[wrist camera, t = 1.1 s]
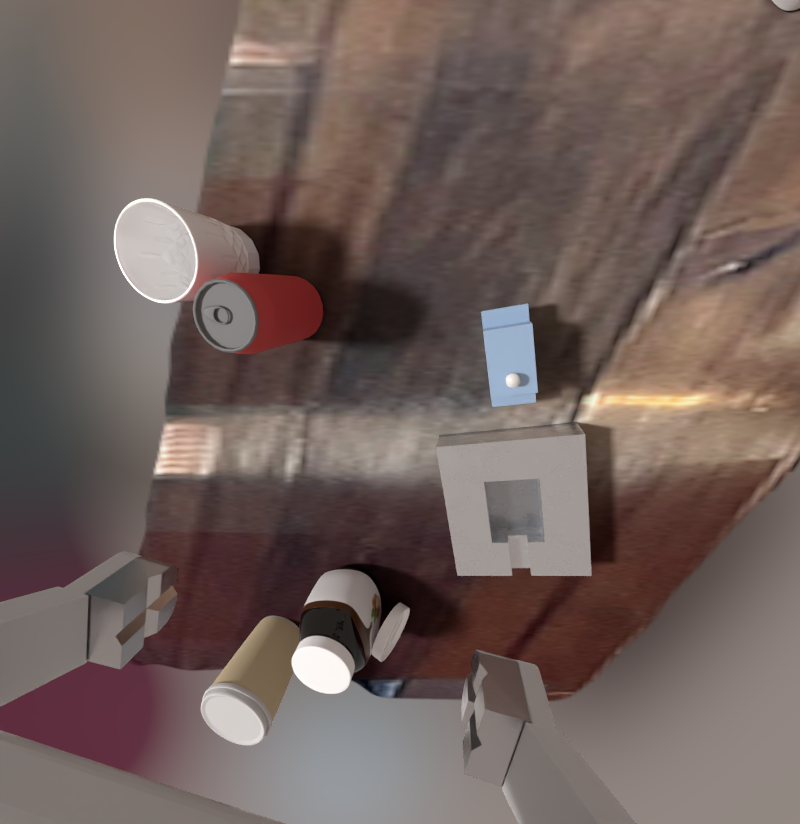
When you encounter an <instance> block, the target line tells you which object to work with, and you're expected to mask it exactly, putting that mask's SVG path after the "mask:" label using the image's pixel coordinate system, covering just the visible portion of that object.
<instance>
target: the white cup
mask: <svg viewBox="0 0 800 824" xmlns="http://www.w3.org/2000/svg"><path fill="white" fill-rule="evenodd" d="M114 248H115V253H116V257H117V261H118V263H119V266H120V268H121V270H122V272H123V274H124V276H125V277H126V279H127V280H128V282H129V283H130V284H131V285H132V286H133V288H134V289H135V290H136V291H138V292H139V293H140V294H141V295H143V296H144V297H146V298H148V299H150V300H152V301H155V302H159V303H175V302H184V301H194V298H195V296H196V294H197V292H198V289H199V288H200V287H201V286H202V285H203V284H204V283H205V282H207V281H210V280H213V279H216V278H218V277H220V276H223V275H225V274H228V273H231V272H233V273H256V274H259V271H260V263H259V253H258V251H257V249H256V247H255V245H254V243H253V241H252V239H251V238H250V237H248V236H247V235H246V234H245V233H244V232H243V231H242V230H241V229H238V228H235V227H232V226H229V225H226V224H223V223H222V222H220V221H218V220H215V219H213V218H210V217H207V216H204V215H201V214H199V213H196V212H193V211H190V210H186V209H183V208H180V207H177V206H174V205H171V204H168V203H165V202H162V201H159V200H156V199H150V198H143V199H138V200H136V201H133V202H131V203H130V204H128V205H127V206H126V207H125V208H124V209H123V211H122V212H121V213H120V215H119V217H118V220H117V222H116V226H115V231H114Z"/></svg>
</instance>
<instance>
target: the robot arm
mask: <svg viewBox="0 0 800 824" xmlns="http://www.w3.org/2000/svg"><path fill="white" fill-rule="evenodd" d="M772 1H773V2H774V3H775V4H776V5H777V6H778V7H779V8H781V9H783V10H786V11H792V10H796V9H799V8H800V0H772ZM178 571H179V569H178V568H177V567H176V566H173V565H170V564H167V563H164V562H160V561H157V560H154V559H151V558H147V557H144V556H139V555H136V554H133V553H130V552H120V553H118V554H116V555H115V556H113V557H111V558H110V559H108V560H107V561H105V562H104V563H102V564H100V565H99V566H97V567H96V568H94V569H93V570H91V571H90V572H88V573H86V574H85V575H83V576H82V577H80V578H79V579H77V580H76V581H74V582H72V583H71V584H69V585H68V586H66V587H65V588H61V587H55V588H51V589H48V590H44V591H40V592H36V593H33V594H29V595H26V596H22V597H18V598H15V599H11V600H7V601H4V602H0V706H2V705H4V704H6V703H8V702H10V701H12V700H14V699H16V698H18V697H20V696H22V695H24V694H26V693H28V692H30V691H32V690H34V689H36V688H38V687H39V686H41V685H44V684H45V683H47V682H49V681H51V680H53V679H55V678H57V677H59V676H61V675H63V674H65V673H67V672H69V671H71V670H73V669H75V668H77V667H79V666H81V665H83V664H85V663H86V661H90V662H94V663H98V664H102V665H106V666H109V667H113V668H117V669H121V668H122V667H123V666H124V665H125V664H126V663H127V662H128V661H129V660H130V659H131V658H132V657H133V656H134V655H135V654H136V653H137V652H138V651H139V650H140V649H141V648H142V647H143V643H144V638H145V637H148V636H150V635H152V634H155V633H157V632H158V631H159V630H160V629H161V628H162V627H163V626H164V625H165V624H166V622H167V620H168V619H169V617H170V615H171V614H172V612H173V610H174V607H175V604H176V597H177V594H176V592H175V590H174V588H173V586H172V585H173V584H174V583H175V582H176V581H177V580H178ZM471 667H472V673H471V674H470V675H468V676H467V678H466V681H465V685H464V690H463V696H462V723H463V725H464V726H465V728H466V733H465V736H464V739H463V757H464V774H465V775H468V776H471V777H474V778H477V779H480V780H483V781H486V782H489V783H492V784H494V785H497V786H501V787H503V788H502V790H503V793H504V795H505V797H506V798H507V801H508V803H509V805H510V807H511V809H512V811H513V813H514V815H515V817H516V819H517V821H518V823H519V824H636V822H635V821H634V820H633V819H632V817H631V816H630V815H629V814H628V813H627V811H626V810H625V809H624V808H623V806H622V805H621V804H620V803H619V801H618V800H617V799H616V798H615V796H614V795H613V794H612V793H611V791H610V790H609V789H608V788H607V787H606V785H605V784H604V783H603V782H602V780H601V779H600V778H599V777H598V775H597V774H596V773H595V772H594V770H593V769H592V768H591V767H590V765H589V764H588V763H587V762H586V761H585V759H584V758H583V757H582V756H581V754H580V753H579V752H578V751H577V749H576V748H575V747H574V746H573V744H572V743H571V742H570V741H569V740H568V738H567V737H566V736H565V735H564V734H563V733H561V732H558V731H557V730H556V726H555V723H554V720H553V716H552V713H551V709H550V706H549V703H548V699H547V696H546V692H545V689H544V686H543V682H542V679H541V675H540V672H539V669H538V667H537V666H536V665H534V664H530V663H526V662H523V661H519V660H513V659H510V658H506V657H502V656H499V655H495V654H491V653H487V652H484V651H480V650H476V651H475V652H474V655H473V658H472V661H471ZM0 824H284V823H281V822H278V821H275V820H272V819H269V818H266V817H263V816H260V815H256V814H254V813H251V812H247V811H245V810H241V809H239V808H236V807H232V806H229V805H226V804H223V803H220V802H217V801H214V800H211V799H208V798H205V797H202V796H199V795H196V794H193V793H190V792H187V791H184V790H181V789H178V788H175V787H172V786H169V785H166V784H163V783H159V782H156V781H153V780H150V779H147V778H144V777H141V776H138V775H135V774H132V773H129V772H126V771H123V770H120V769H117V768H114V767H111V766H108V765H104V764H102V763H99V762H95V761H92V760H89V759H86V758H83V757H80V756H77V755H74V754H71V753H68V752H65V751H62V750H58V749H56V748H53V747H50V746H46V745H44V744H40V743H37V742H34V741H31V740H28V739H25V738H22V737H19V736H16V735H13V734H10V733H7V732H4V731H1V730H0Z"/></svg>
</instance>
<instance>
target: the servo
mask: <svg viewBox="0 0 800 824" xmlns="http://www.w3.org/2000/svg"><path fill="white" fill-rule="evenodd" d="M481 315H482V323H483V334H484V343H485V351H486V360H487V368H488V377H489V385H490V394H491V400H492V407H498V406H507V405H516V404H525V403H534V402H536V394H535V393H538V387H537V375H536V362H535V350H534V337H533V325H532V322H530V320H529V308H528V303H526V304H520V305H515V306H509V307H503V308H497V309H492V310H486V311H481Z"/></svg>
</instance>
